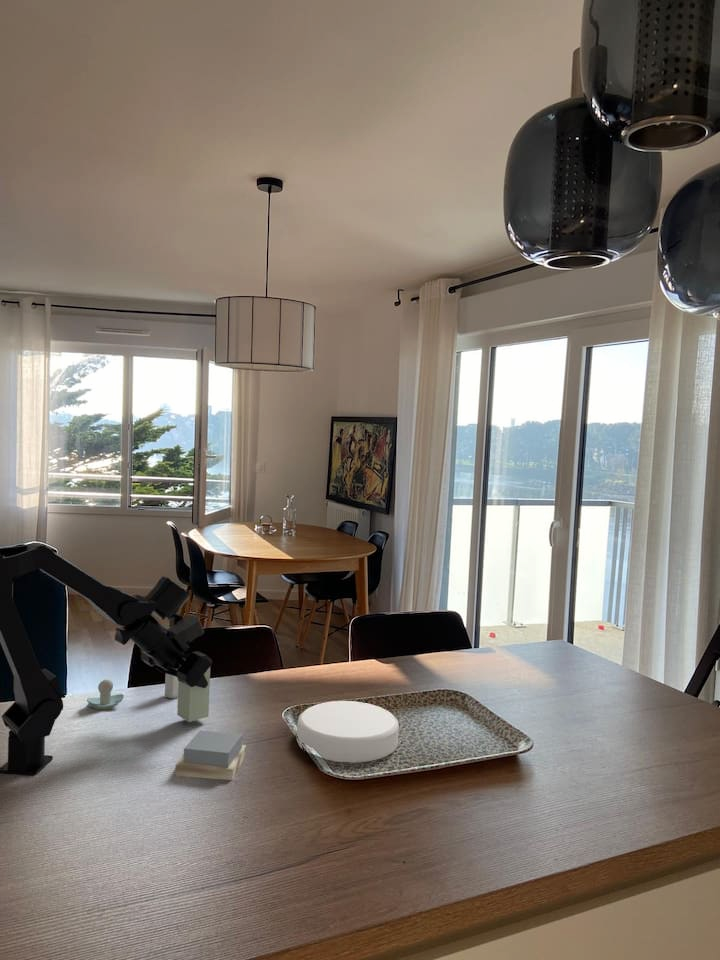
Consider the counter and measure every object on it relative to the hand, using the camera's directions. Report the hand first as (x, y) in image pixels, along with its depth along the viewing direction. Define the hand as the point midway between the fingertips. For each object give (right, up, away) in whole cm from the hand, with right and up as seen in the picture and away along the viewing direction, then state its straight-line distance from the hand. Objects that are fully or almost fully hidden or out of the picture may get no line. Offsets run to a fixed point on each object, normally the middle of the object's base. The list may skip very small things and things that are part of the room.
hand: (200, 682), depth 148 cm
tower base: (+6, -10, -19) cm, 22 cm away
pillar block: (-1, -7, -1) cm, 7 cm away
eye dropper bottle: (-8, -7, +14) cm, 18 cm away
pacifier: (-22, -7, +5) cm, 23 cm away
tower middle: (+7, -7, -19) cm, 22 cm away
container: (+30, -10, -6) cm, 32 cm away
